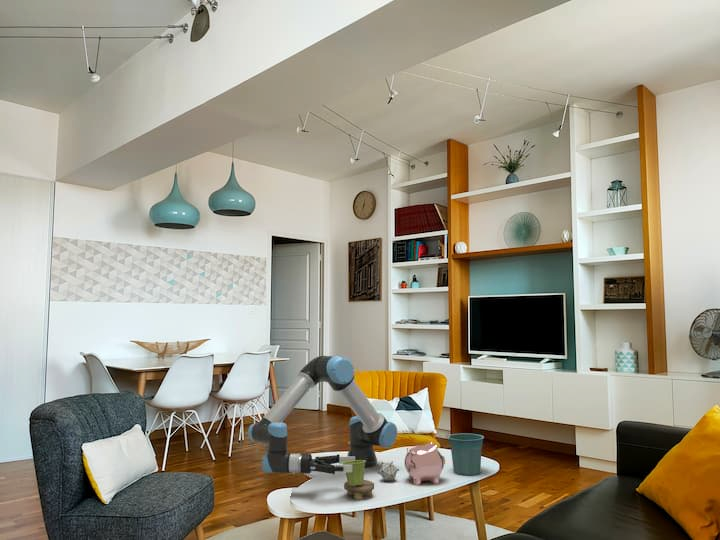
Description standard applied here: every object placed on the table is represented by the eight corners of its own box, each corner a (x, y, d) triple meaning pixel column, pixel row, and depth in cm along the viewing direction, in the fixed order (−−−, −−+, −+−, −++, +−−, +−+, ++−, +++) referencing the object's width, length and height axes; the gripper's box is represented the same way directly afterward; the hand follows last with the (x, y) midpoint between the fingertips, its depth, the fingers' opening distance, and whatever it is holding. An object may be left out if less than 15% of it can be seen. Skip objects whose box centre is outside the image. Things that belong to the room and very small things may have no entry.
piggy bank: (451, 484, 234) (450, 445, 235) (410, 487, 230) (410, 448, 231) (438, 475, 248) (437, 438, 250) (400, 477, 245) (399, 440, 246)
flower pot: (447, 475, 247) (446, 439, 249) (450, 467, 263) (449, 432, 265) (484, 478, 243) (483, 440, 245) (485, 468, 259) (484, 433, 261)
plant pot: (352, 482, 222) (350, 460, 224) (372, 482, 218) (370, 459, 219) (339, 487, 215) (337, 464, 216) (359, 487, 210) (357, 463, 212)
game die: (391, 490, 238) (397, 475, 233) (373, 482, 239) (378, 467, 235) (397, 475, 245) (403, 460, 240) (380, 468, 247) (384, 452, 242)
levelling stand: (345, 490, 225) (345, 479, 225) (375, 491, 224) (374, 480, 224) (342, 500, 213) (342, 488, 213) (373, 500, 212) (373, 488, 212)
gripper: (306, 465, 233) (356, 466, 232) (295, 481, 208) (350, 482, 207) (306, 447, 234) (356, 447, 232) (295, 461, 209) (350, 462, 208)
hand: (353, 464), depth 220 cm, fingers open, 13 cm apart
